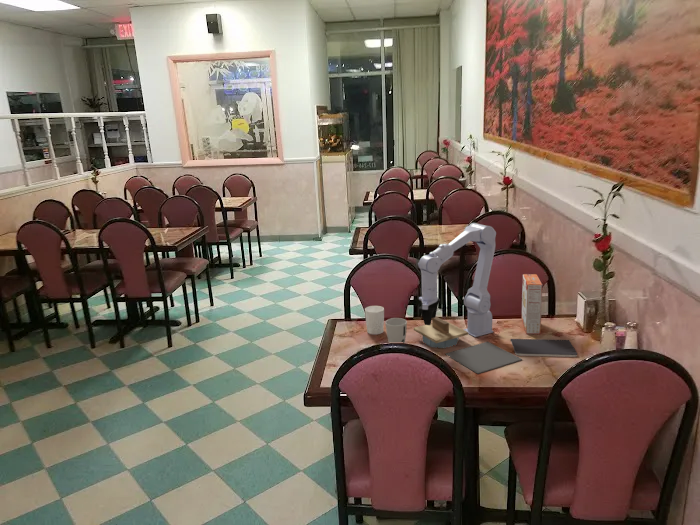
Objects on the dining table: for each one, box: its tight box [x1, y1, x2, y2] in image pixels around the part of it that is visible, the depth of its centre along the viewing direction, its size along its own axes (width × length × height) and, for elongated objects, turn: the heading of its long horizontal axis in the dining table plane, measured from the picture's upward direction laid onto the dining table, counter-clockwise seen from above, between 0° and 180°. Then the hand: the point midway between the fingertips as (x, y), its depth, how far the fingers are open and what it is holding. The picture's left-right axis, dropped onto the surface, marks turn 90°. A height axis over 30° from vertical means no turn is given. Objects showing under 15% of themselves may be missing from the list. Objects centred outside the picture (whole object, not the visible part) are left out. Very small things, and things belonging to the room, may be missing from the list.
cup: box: [384, 317, 408, 344], centre depth 194 cm, size 8×8×10 cm
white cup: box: [364, 305, 385, 335], centre depth 208 cm, size 8×8×10 cm
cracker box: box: [521, 273, 543, 335], centre depth 203 cm, size 14×6×21 cm, turn 169°
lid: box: [413, 316, 469, 343], centre depth 196 cm, size 15×15×5 cm
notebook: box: [510, 338, 578, 358], centre depth 186 cm, size 13×2×21 cm
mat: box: [444, 341, 523, 375], centre depth 182 cm, size 20×18×1 cm
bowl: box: [422, 335, 460, 349], centre depth 197 cm, size 13×13×4 cm
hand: (430, 321), depth 193 cm, fingers open, 7 cm apart
